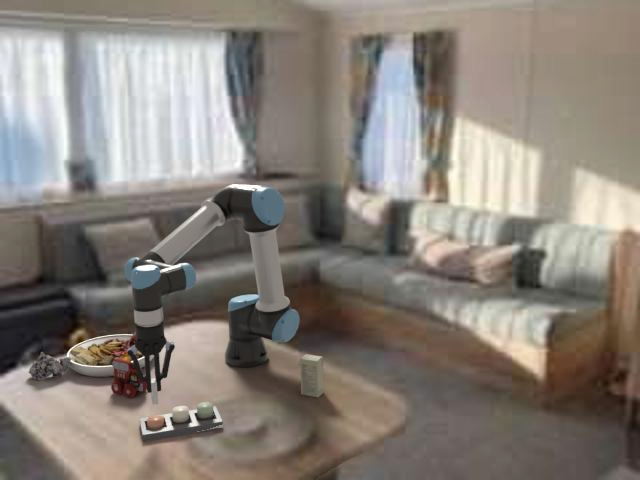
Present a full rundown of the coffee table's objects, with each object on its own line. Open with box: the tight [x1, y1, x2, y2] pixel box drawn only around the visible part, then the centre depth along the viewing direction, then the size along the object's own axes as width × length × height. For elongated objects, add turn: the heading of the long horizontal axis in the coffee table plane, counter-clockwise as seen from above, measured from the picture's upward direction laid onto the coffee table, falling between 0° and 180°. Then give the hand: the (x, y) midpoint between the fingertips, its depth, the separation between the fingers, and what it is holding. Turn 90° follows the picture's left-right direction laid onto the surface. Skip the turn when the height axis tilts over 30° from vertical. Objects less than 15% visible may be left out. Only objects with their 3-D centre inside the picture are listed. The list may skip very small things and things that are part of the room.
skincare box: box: [299, 353, 325, 398], centre depth 209 cm, size 6×4×12 cm
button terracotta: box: [146, 414, 165, 430], centre depth 187 cm, size 5×5×3 cm
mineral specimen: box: [28, 351, 72, 382], centre depth 222 cm, size 12×9×10 cm
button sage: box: [196, 401, 214, 419], centre depth 191 cm, size 5×5×3 cm
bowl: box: [66, 332, 154, 378], centre depth 234 cm, size 30×30×8 cm
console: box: [139, 405, 224, 442], centre depth 190 cm, size 22×10×2 cm, turn 110°
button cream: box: [171, 405, 190, 423], centre depth 189 cm, size 5×5×3 cm
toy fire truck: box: [110, 359, 147, 399], centre depth 211 cm, size 7×12×10 cm, turn 64°
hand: (154, 402), depth 186 cm, fingers closed
